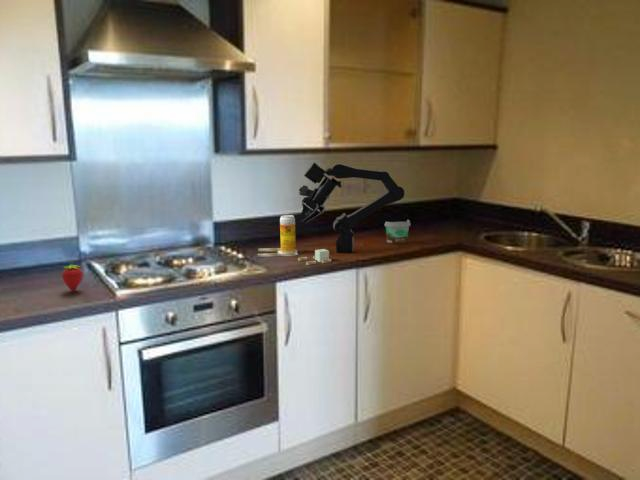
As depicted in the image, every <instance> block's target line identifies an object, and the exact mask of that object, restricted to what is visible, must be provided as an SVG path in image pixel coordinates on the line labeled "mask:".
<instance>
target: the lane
mask: <svg viewBox="0 0 640 480" xmlns="http://www.w3.org/2000/svg"><path fill="white" fill-rule="evenodd" d="M278 251H281V247H273V248H269V247H268V248H257V252H258V253H257V257H258V258H261V257H262V258H263V257H264V258H267V257H295V256H296V255H295V253H278ZM259 252H277V253H259Z"/></svg>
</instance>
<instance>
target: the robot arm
mask: <svg viewBox="0 0 640 480" xmlns="http://www.w3.org/2000/svg"><path fill="white" fill-rule="evenodd" d="M328 176H329V177H330V176H331V177H330V178H329V177H328ZM303 177H305V178H306V179H308V180H309V181H311V182H312V183H313V184H315V185H316V184H317V183H318V184H319V185H318V187H316V188H314V189H310V188H309V187H308V185H305V184H304V185H302V186H300V187H299V189H298V191H299V192H298V195H299V196H303V198H302V200H301V205H302V210H301V213H300V215H299V217H298V222H299V223H302V222H304V223H305V224H307V223H308V222H310V221H311V220H313V219H314V218H316V217H318V216H319V215H322V214H323V213H324V212H325V210H326V206H325V205H324V204H325V203H326V201H327V200H329V199H330V196H331V194H332V193H333V191H334V190H335V188H337V187H338V188H339V189H340V188H343V187H342V184H341V183H342V181H341V179H351V178H353V179H354V178H357V179H365V180H374V181H380V182H381V183H382V184H383V186H384V187H385V188H386V190H384V191H383V192H382V193H381V194H380V196H378V197H377V198H375V199H374V200H372V201H370V202H369V203H367V204H366V205H363V206H362V207H361V208H359V209H357V210H356V211H354V212H352V213H351V214H346V213H345V212H343V213H342V214H341V215H339V216H337V217H335V220H334V221H333V224H332V227H333V230H334V231H335V232H336V234H338V236H337V239H336V240H335V250H336V253H340V254H341V253H342V254H343V253H344V254H352V253H354V251H356V250H355V247H354V246H355V245H354V237H355V236H354V235H355V233H354V232H353V231H352V228H353V227H354V226H355V225H356V224H357V223H358V222H360V221H362V220H364V219H365V218H367V217H368V216H369V215H371V214H374V212H377V211H378V210H379V209H381V208H383V207H385V206H386V205H389V204H393V203H396V202H398V201H401V200H402V199H403V198H404V197H405V190H404V188H403V187H401V186H399V185H398V184H397V183H396V181H395V180H394V179H393V178H392V176H391V175H390V174H389V172H387V171H385V170H374V169H364V168H357V167H356V168H355V167H352V166H349V165H346V164H343V163H339V162H338V163H334V164H333V165H331V167H329V168H326V169H323V168H322V167H321V166H320V165H318V164H317V163H316V162H313V163H312V164H311V165H310V167H309V168H308V169H306V172H305V173H304V174H303ZM335 178H336V179H335ZM337 179H339V180H337Z"/></svg>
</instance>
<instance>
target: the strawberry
mask: <svg viewBox="0 0 640 480" xmlns="http://www.w3.org/2000/svg"><path fill="white" fill-rule="evenodd" d="M82 266H83V265H76V264H73V262H71V263H70V264H69V265H67V266H64V267H62V268H63V269H64V270H63V271H62V273H61V274H62V275H61V277H62V280H63V282H64V283H65V285H66V286H67V287H68V288H69V290H70V291H71V292H72V293H74V292H75V291H77V289H78V287H79V285H80V284H81V282H82V280H83V275H84V274H83V273H84V272H83V270H82V269H81V267H82Z"/></svg>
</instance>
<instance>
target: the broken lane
mask: <svg viewBox="0 0 640 480" xmlns="http://www.w3.org/2000/svg"><path fill="white" fill-rule="evenodd" d="M312 259H314V260H310V261H309V260H308V257H307V256H302V257H301V256H300V257H298V258H297V261H299V262H301V261H306V262H305V263H306V264H305V265H307V266H310V265H316V264H317V261H316V260H315V255H313V256H312ZM321 263H322V264H326V263H332V258H329V259H325V260H322V262H321Z"/></svg>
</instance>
